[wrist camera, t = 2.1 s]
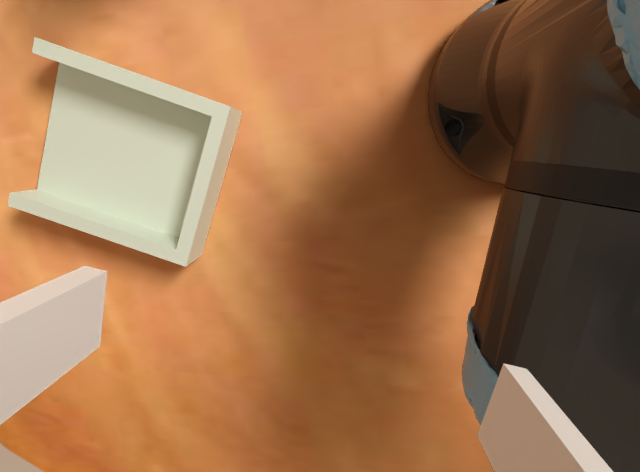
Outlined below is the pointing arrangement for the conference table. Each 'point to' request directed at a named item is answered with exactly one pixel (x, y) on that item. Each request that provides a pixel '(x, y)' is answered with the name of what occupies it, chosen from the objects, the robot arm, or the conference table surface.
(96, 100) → the open sided tray
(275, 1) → the conference table surface
